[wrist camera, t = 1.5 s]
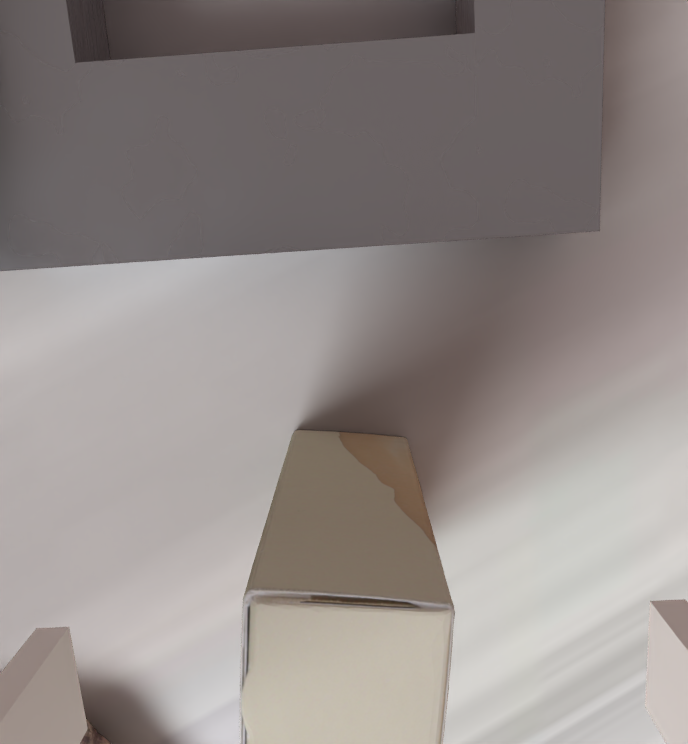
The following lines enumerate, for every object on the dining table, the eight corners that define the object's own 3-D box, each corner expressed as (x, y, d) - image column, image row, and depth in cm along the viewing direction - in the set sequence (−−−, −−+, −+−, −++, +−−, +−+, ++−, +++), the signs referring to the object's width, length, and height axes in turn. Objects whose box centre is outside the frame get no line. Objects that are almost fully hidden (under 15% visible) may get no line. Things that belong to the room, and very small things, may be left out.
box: (397, 560, 24) (435, 827, 14) (284, 553, 24) (233, 815, 14) (409, 428, 23) (460, 607, 12) (290, 421, 23) (238, 594, 12)
